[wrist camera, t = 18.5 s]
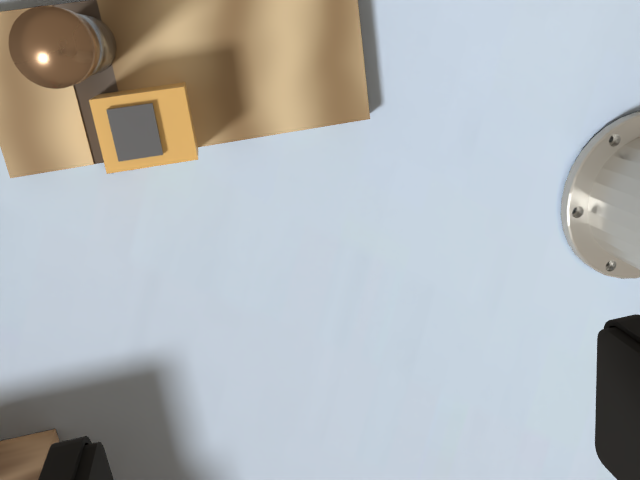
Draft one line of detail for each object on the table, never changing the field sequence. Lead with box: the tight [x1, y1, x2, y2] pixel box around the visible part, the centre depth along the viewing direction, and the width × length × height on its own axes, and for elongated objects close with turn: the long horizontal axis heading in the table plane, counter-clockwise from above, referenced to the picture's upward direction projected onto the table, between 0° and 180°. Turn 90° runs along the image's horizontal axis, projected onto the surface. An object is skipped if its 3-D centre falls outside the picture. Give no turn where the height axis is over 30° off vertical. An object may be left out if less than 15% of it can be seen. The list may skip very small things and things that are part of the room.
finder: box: [89, 82, 198, 174], centre depth 35 cm, size 5×4×4 cm
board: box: [0, 0, 370, 178], centre depth 37 cm, size 22×9×1 cm, turn 98°
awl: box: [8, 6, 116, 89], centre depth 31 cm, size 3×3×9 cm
